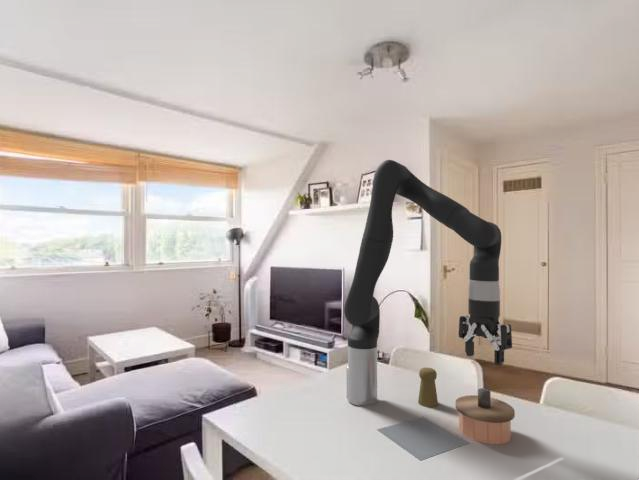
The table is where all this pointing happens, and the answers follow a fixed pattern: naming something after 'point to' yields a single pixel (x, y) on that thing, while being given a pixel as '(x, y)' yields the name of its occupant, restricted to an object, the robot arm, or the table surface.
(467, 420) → the bowl
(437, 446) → the mat
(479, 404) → the lid
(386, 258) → the robot arm
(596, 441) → the table surface
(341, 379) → the table surface
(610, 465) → the table surface
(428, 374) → the cork
